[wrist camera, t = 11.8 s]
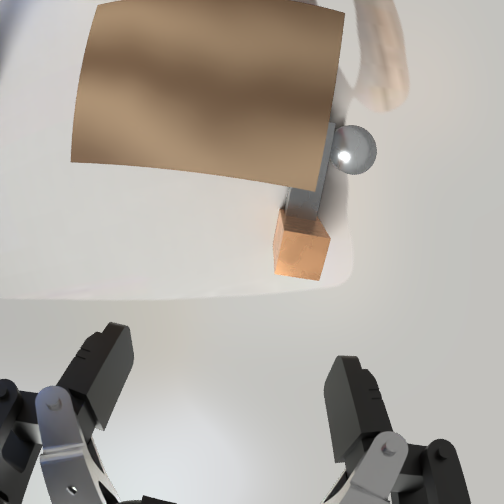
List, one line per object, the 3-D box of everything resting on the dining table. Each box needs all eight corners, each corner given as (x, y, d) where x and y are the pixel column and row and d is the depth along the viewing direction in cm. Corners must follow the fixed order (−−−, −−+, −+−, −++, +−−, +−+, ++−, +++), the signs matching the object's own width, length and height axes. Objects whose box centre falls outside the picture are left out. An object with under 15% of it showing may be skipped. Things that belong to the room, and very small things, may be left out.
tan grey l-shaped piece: (296, 116, 26) (306, 110, 20) (335, 125, 26) (356, 123, 20) (272, 244, 31) (274, 273, 25) (308, 250, 31) (319, 280, 25)
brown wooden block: (166, 52, 23) (97, 5, 10) (308, 66, 24) (344, 13, 11) (151, 148, 28) (70, 164, 14) (290, 166, 28) (314, 194, 15)
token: (322, 128, 26) (325, 128, 25) (367, 123, 26) (372, 123, 25) (330, 175, 28) (333, 178, 27) (374, 169, 28) (379, 171, 26)
